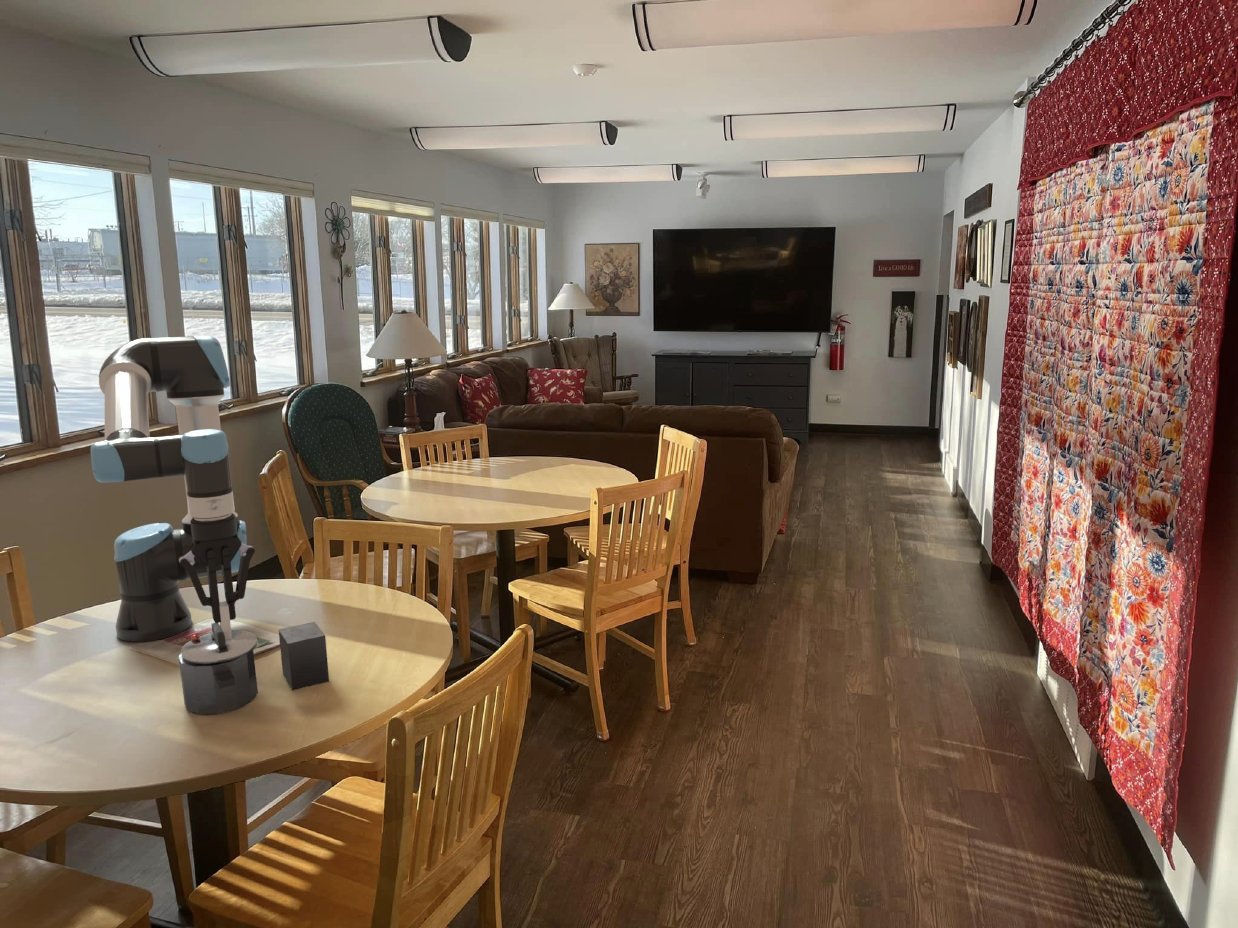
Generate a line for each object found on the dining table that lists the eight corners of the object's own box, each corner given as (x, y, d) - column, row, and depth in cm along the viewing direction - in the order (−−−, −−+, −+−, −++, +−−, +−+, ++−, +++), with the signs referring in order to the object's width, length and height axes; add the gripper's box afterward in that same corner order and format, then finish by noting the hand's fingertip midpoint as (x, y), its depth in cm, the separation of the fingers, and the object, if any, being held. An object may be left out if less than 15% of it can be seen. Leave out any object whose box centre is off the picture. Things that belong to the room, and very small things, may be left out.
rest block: (282, 674, 178) (278, 629, 176) (318, 666, 182) (314, 621, 180) (292, 690, 172) (287, 643, 169) (329, 681, 175) (325, 635, 173)
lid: (177, 644, 169) (174, 625, 168) (250, 629, 176) (248, 610, 175) (186, 670, 158) (184, 649, 157) (263, 652, 165) (261, 633, 164)
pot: (178, 685, 174) (172, 639, 172) (246, 670, 180) (241, 625, 178) (193, 731, 157) (187, 680, 155) (267, 712, 163) (262, 663, 161)
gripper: (175, 526, 155) (191, 652, 161) (254, 514, 162) (267, 635, 167) (170, 516, 161) (185, 637, 167) (246, 505, 168) (259, 622, 174)
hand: (226, 636), depth 167 cm, fingers closed
